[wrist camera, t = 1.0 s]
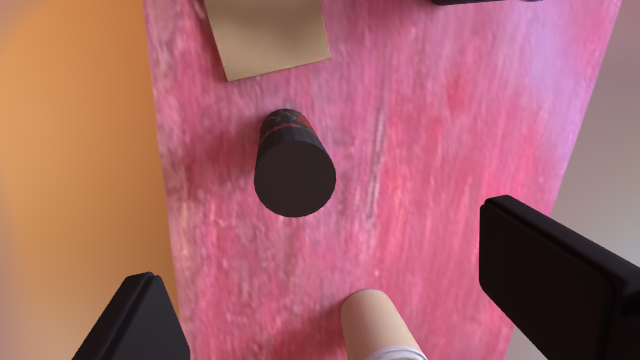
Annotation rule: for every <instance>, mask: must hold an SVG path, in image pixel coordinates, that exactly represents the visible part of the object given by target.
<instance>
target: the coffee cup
mask: <svg viewBox="0 0 640 360" xmlns="http://www.w3.org/2000/svg"><path fill="white" fill-rule="evenodd" d="M340 316H341V323H342V329H343V335H344V340H345V346H346V352H347V357H348V360H427V358H426V357H425V355H424V354H423V353H422V352H421V350H420V348H419V346H418V345H417V343H416V341H415V340H414V338H413V336H412V335H411V333H410V331H409V330H408V328H407V326H406V325H405V323H404V321H403V320H402V318H401V316H400V315H399V313H398V312H397V310H396V308H395V307H394V305H393V303H392V302H391V300H390V299H389V297H388V296H387V295H386V294H385V293H383V292H381V291H379V290H375V289H365V290H361V291H358V292H355V293H354V294H352V295H351V296H349V297H348V298H347V299H346V300H345V302H344V303H343V305H342V308H341V313H340Z"/></svg>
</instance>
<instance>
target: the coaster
mask: <svg viewBox="0 0 640 360" xmlns="http://www.w3.org/2000/svg"><path fill="white" fill-rule="evenodd" d="M203 3H204V6H205V9H206V13H207V16H208V19H209V22H210V26H211V29H212V32H213V36H214V39H215V42H216V46H217V49H218V52H219V56H220V59H221V62H222V65H223V69H224V72H225V75H226V79H227V82H230V81H235V80H239V79H244V78H248V77H252V76H257V75H261V74H266V73H270V72H274V71H279V70H283V69H287V68H292V67H296V66H301V65H305V64H309V63H314V62H318V61H322V60H327V59H330V58H331V57H330V52H329V46H328V41H327V35H326V30H325V24H324V19H323V14H322V8H321V3H320V0H203Z"/></svg>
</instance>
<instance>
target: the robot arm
mask: <svg viewBox="0 0 640 360" xmlns="http://www.w3.org/2000/svg"><path fill="white" fill-rule="evenodd" d="M479 283H480V286H481V288H482V289H483V291H484V292H485V293H486V294H487V295H488V296H489V297H490V299H491V300H492V301H493V302H494V303H495V304H496V305H497V306H498V307H499V308H500V309H501V310H502V311H503V312H504V313H505V314H506V316H507V317H508V318H509V319H510V320H511V321H512V322H513V323H514V324H515V325H516V326H517V327H518V328H519V329H520V330H521V331H522V333H523V334H524V335H525V336H526V337H527V338H528V339H529V340H530V341H531V342H532V343H533V344H534V345H535V346H536V348H537V349H538V350H540V352H541V353H542V354H543V355H544V356H545V357H546V358H547V359H548V360H640V267H638V266H636V265H634V264H632V263H631V262H629V261H627V260H625V259H623V258H622V257H620V256H618V255H616V254H614V253H612V252H611V251H609V250H607V249H605V248H604V247H602V246H600V245H598V244H596V243H594V242H593V241H591V240H589V239H587V238H585V237H584V236H582V235H580V234H578V233H576V232H575V231H573V230H571V229H569V228H567V227H566V226H564V225H562V224H560V223H558V222H557V221H555V220H553V219H551V218H549V217H548V216H546V215H544V214H542V213H540V212H539V211H537V210H535V209H533V208H531V207H530V206H528V205H526V204H524V203H522V202H520V201H519V200H517V199H515V198H513V197H511V196H509V195H502V196H497V197H493V198H488V199H486V200H485V202H484V204H483V205H482V206H481V207H480V233H479ZM72 360H190V349H189V346H188V343H187V341H186V338H185V336H184V333H183V331H182V328H181V326H180V323H179V321H178V318H177V316H176V313H175V311H174V308H173V306H172V303H171V301H170V298H169V296H168V293H167V291H166V289H165V286H164V283H163V281H162V279H161V277H160V276H159V275H156V276H154V274H153V273H152V272H146V273H141V274H136V275H131V276H128V277H126V278H125V279H124V281H123V282H122V284H121V286H120V287H119V289H118V290H117V292H116V293H115V295H114V296H113V298H112V299H111V301H110V302H109V304H108V305H107V307H106V308H105V310H104V311H103V313H102V314H101V316H100V317H99V319H98V320H97V322H96V323H95V325H94V326H93V328H92V329H91V331H90V332H89V334H88V336H87V337H86V339H85V340H84V342H83V343H82V345H81V346H80V348H79V349H78V351H77V352H76V354H75V356H74V357H73V358H72Z"/></svg>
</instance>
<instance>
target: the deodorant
mask: <svg viewBox="0 0 640 360" xmlns="http://www.w3.org/2000/svg"><path fill="white" fill-rule="evenodd" d="M335 183H336V172H335V168H334V165H333V163H332V160H331V158H330V157H329V155H328V153H327V152H326V150H325V148H324V147H323V145H322V143H321V142H320V140H319V138H318V137H317V135H316V133H315V132H314V130H313V128H312V127H311V125H310V123H309V122H308V120H307V119H306V118H305V116H303V115H302V114H301V113H299V112H297V111H295V110H291V109H280V110H277V111H274V112H272V113H271V114H270V115H268V116H267V117H266V119H265V120H264V121H263V123H262V126H261V128H260V135H259V143H258V150H257V158H256V166H255V174H254V186H255V191H256V193H257V195H258V197H259V199H260V201H261V202H262V203H263V204H264V205H265V206H266V208H268V209H269V210H271V211H272V212H274V213H275V214H278V215H281V216H284V217H294V218H296V217H303V216H307V215H309V214H312V213H314V212H316V211H317V210H319V209H320V208H322V207H323V206H324V205H325V204H326V203H327V201H328V200H329V199H330V197H331V195H332V193H333V191H334V189H335Z"/></svg>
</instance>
